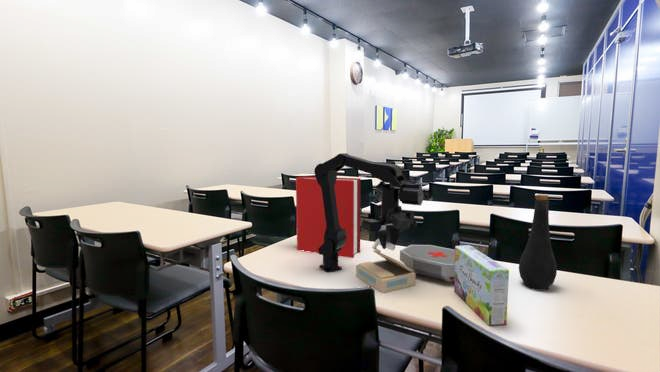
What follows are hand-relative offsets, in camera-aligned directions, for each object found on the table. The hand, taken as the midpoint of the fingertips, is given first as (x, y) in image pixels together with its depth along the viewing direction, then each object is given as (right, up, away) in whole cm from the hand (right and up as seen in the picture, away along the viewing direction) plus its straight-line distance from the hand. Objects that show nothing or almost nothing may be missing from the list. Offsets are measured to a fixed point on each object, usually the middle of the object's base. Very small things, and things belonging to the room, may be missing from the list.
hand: (388, 248), depth 116 cm
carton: (-1, -11, +2) cm, 12 cm away
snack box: (+23, -14, -17) cm, 32 cm away
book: (-21, -8, +35) cm, 41 cm away
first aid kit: (+19, -11, +8) cm, 23 cm away
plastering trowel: (0, -4, +2) cm, 5 cm away
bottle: (+48, -12, -3) cm, 49 cm away
